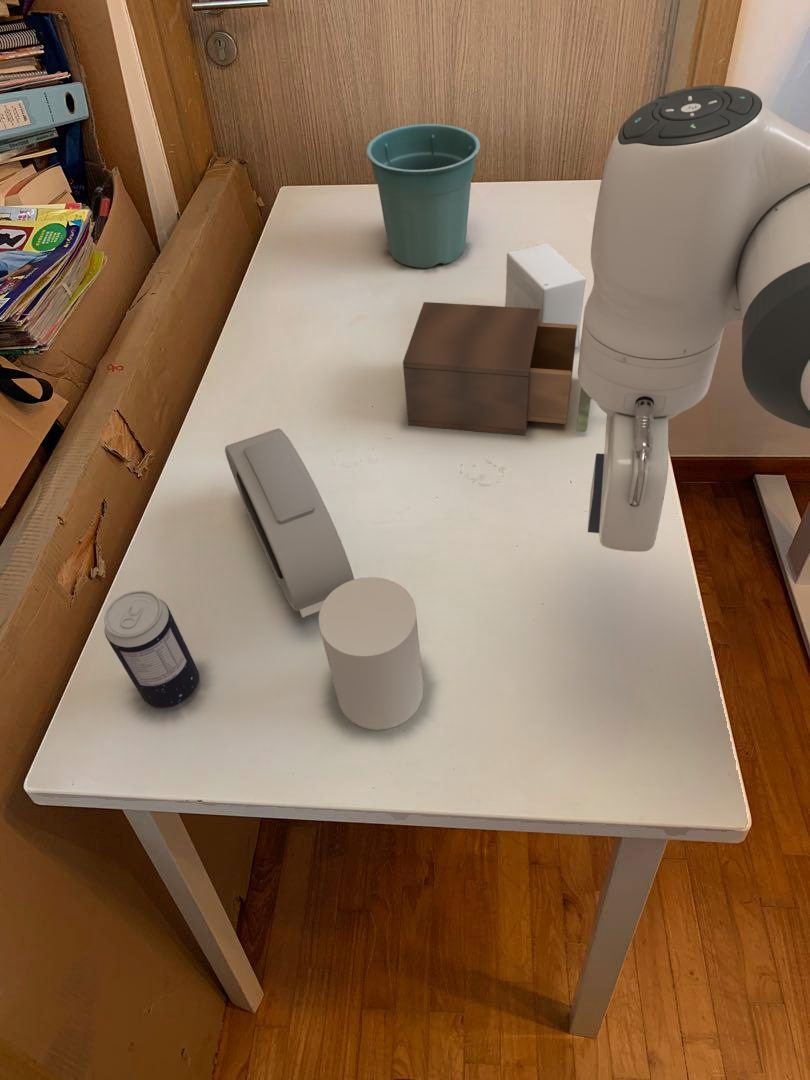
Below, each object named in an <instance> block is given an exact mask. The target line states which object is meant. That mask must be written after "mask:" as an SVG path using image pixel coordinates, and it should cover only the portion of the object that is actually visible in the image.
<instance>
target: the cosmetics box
mask: <svg viewBox="0 0 810 1080" xmlns="http://www.w3.org/2000/svg"><path fill="white" fill-rule="evenodd" d="M505 277H506V279H505V280H506V281H505V303H504V305H505V306H504V307H518V308H535V309H540V323H556V324H572V325H577V333H576V343H575V349H577V348H578V347H579V340H580V331H581V321H582V315H583V305H584V299H585V291H586V282H587V278H586V277H585V276H584V275H583V274H582V273H581V272H579V271H578V270H577V268H575V266H573V265H572V264H571V263H570V262H568V260H566V258H564V257H563V256H562V255H561V254H560V253H559V252H558V251H557V250H555V248H554V247H552V246H551V245H550V244H549V243H548V242H546V243H541V244H538V245H537V244H536V245H533V246H528V247H526V248H521V249H517V250H513V251H508V252H507V254H506V276H505Z"/></svg>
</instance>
